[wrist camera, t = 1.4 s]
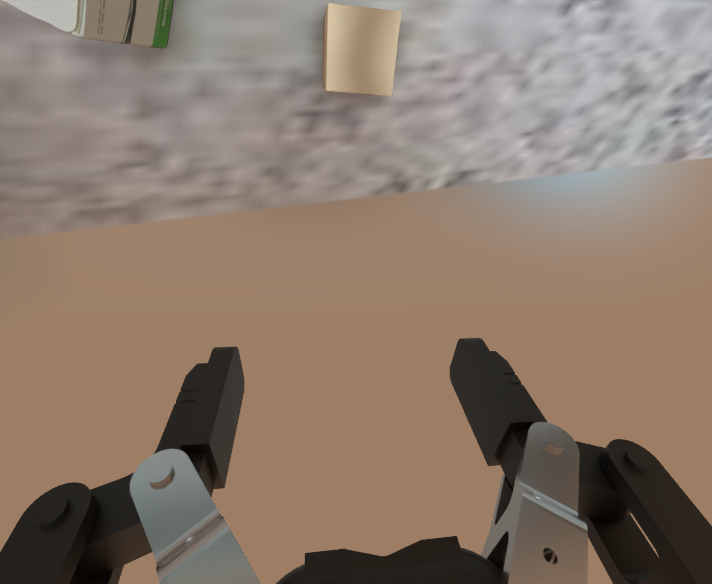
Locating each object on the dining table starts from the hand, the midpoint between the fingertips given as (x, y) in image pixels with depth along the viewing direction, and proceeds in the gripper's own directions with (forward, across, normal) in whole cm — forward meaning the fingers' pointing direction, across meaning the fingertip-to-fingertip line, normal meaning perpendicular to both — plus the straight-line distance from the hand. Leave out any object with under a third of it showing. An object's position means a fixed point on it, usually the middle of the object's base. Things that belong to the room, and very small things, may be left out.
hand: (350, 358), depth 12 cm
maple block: (+26, -2, -10) cm, 28 cm away
